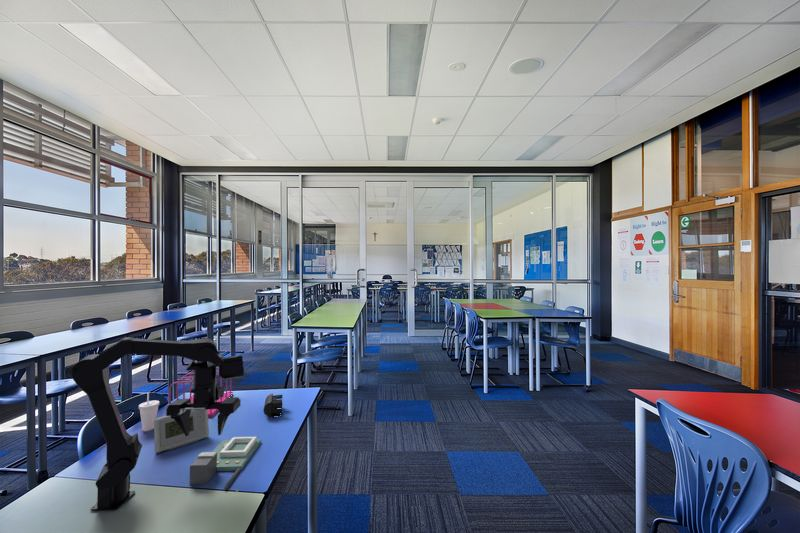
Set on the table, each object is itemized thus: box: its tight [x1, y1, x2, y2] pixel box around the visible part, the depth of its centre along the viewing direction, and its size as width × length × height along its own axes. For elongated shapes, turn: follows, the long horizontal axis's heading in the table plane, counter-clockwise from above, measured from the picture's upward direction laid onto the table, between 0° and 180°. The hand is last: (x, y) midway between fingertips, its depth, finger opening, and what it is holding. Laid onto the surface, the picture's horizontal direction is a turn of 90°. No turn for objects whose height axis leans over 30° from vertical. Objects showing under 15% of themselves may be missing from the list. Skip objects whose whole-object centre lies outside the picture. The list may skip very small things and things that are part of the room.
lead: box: [223, 467, 242, 490], centre depth 94 cm, size 12×1×1 cm, turn 4°
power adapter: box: [263, 393, 283, 418], centre depth 137 cm, size 10×7×7 cm
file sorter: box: [168, 367, 234, 419], centre depth 143 cm, size 17×25×16 cm
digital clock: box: [153, 409, 210, 454], centre depth 113 cm, size 16×9×11 cm, turn 123°
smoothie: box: [138, 392, 160, 432], centre depth 122 cm, size 6×6×14 cm
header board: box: [211, 436, 262, 472], centre depth 105 cm, size 16×13×3 cm
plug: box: [189, 451, 218, 486], centre depth 94 cm, size 6×4×6 cm
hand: (203, 435), depth 94 cm, fingers open, 9 cm apart
